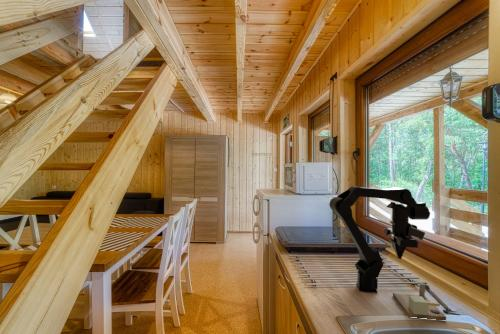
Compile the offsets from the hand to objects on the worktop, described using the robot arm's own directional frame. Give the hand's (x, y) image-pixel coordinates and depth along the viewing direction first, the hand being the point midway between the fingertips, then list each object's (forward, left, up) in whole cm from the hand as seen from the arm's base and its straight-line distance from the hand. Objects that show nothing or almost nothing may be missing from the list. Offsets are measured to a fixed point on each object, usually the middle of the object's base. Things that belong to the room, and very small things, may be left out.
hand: (399, 258), depth 105 cm
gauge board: (0, -15, -12) cm, 19 cm away
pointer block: (+1, -20, -10) cm, 22 cm away
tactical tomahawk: (+12, -6, -13) cm, 18 cm away
